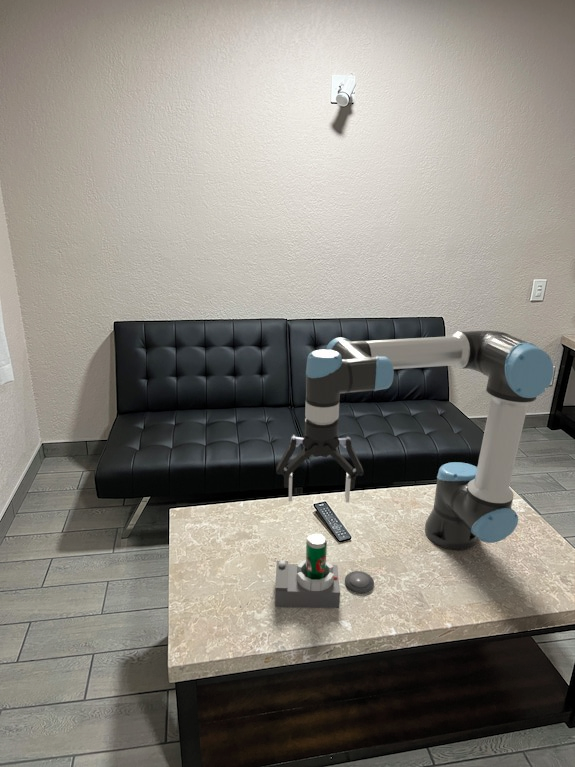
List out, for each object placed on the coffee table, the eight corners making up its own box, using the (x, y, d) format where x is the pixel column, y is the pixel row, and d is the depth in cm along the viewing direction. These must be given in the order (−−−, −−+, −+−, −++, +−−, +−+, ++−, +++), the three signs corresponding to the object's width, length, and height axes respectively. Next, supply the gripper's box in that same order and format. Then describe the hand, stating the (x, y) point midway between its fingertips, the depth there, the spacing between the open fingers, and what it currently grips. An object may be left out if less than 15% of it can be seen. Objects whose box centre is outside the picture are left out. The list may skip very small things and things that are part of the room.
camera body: (336, 580, 143) (337, 557, 141) (339, 608, 134) (340, 584, 131) (276, 578, 143) (276, 556, 141) (275, 606, 134) (275, 583, 131)
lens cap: (371, 573, 146) (371, 570, 145) (375, 594, 139) (375, 590, 138) (343, 573, 146) (343, 569, 145) (346, 593, 139) (346, 590, 138)
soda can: (304, 571, 139) (305, 533, 135) (323, 570, 139) (325, 532, 135) (306, 585, 134) (307, 545, 130) (326, 584, 135) (328, 544, 130)
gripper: (374, 412, 124) (368, 491, 132) (267, 410, 124) (267, 489, 132) (379, 426, 117) (372, 508, 125) (265, 424, 117) (265, 506, 125)
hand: (318, 498), depth 128 cm, fingers open, 13 cm apart
